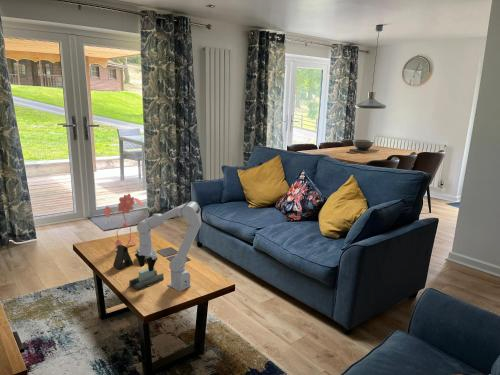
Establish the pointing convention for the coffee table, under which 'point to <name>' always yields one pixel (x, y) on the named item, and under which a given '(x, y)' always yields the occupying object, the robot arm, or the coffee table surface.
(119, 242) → the figurine
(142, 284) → the floor track
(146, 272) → the door panel
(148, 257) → the air freshener
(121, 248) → the phone stand
